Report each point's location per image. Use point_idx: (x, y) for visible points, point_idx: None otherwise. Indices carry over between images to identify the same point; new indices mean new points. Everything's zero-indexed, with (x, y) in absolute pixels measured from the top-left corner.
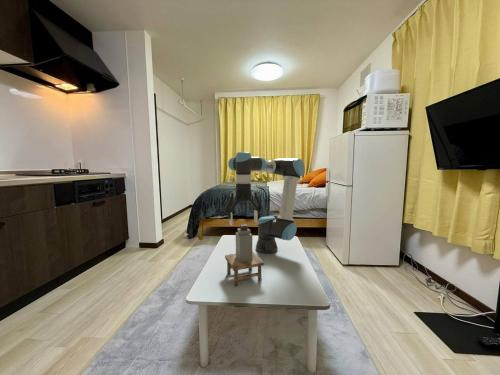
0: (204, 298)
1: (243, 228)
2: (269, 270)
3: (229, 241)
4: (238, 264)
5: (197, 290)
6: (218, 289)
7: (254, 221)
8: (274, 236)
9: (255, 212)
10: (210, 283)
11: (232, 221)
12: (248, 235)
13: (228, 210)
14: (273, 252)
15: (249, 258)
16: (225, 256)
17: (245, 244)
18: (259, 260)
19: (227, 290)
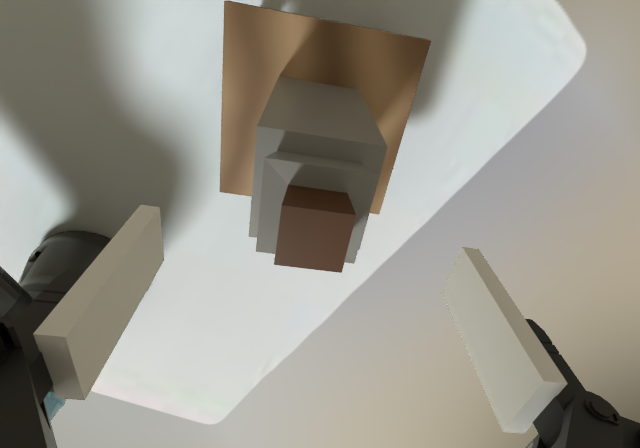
0: (551, 23)
1: (335, 200)
2: (167, 86)
3: (223, 387)
4: (381, 69)
5: (533, 102)
6: (464, 59)
7: (159, 257)
8: (7, 274)
9: (91, 330)
10: (462, 125)
11: (483, 281)
12: (299, 132)
13: (623, 446)
14: (71, 231)
15: (298, 82)
16: (381, 203)
17: (328, 112)
18: (239, 47)
19: (439, 27)
